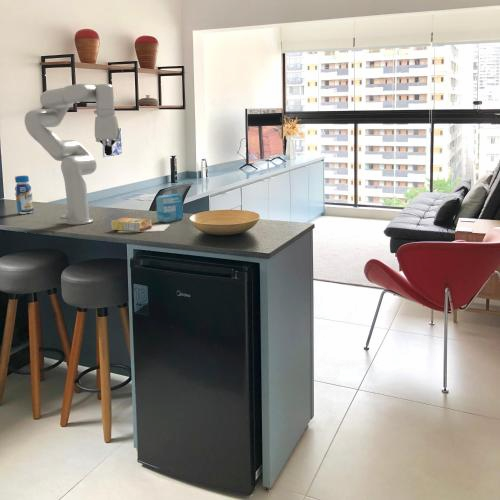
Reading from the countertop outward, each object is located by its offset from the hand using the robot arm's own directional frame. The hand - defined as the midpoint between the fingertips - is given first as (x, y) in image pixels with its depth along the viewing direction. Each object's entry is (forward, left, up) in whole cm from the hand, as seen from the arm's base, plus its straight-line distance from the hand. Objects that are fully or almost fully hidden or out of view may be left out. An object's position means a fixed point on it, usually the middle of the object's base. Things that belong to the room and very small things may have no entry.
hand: (108, 155), depth 265 cm
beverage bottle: (-61, +43, -32) cm, 81 cm away
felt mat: (+16, -10, -32) cm, 37 cm away
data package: (+24, +9, -32) cm, 41 cm away
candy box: (+4, -10, -30) cm, 31 cm away
